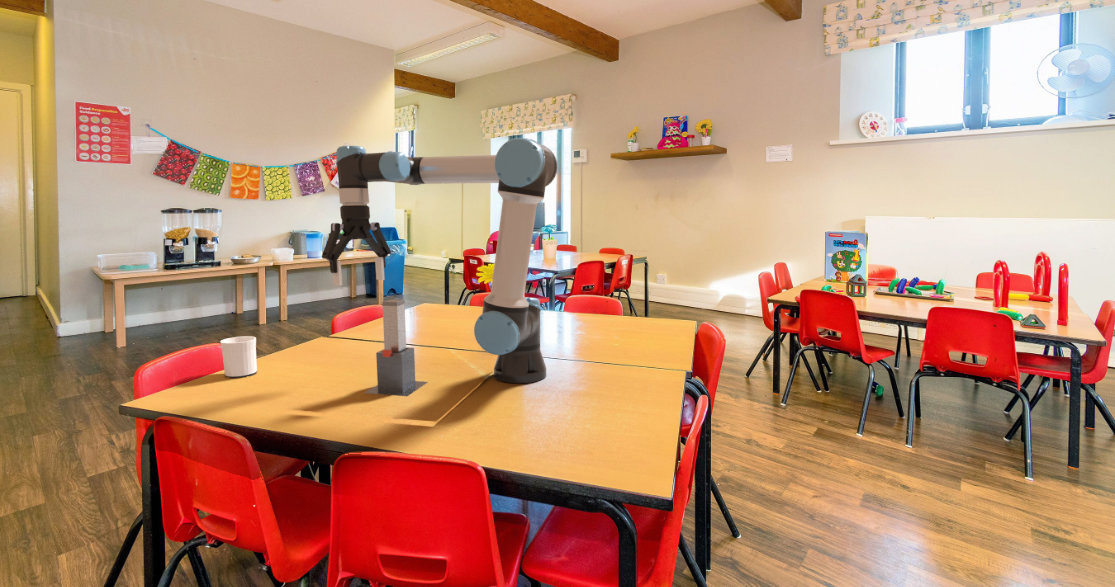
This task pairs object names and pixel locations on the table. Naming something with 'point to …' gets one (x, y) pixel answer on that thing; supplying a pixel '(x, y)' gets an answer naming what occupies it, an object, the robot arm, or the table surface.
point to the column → (394, 325)
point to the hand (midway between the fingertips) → (360, 282)
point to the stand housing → (396, 373)
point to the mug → (239, 356)
